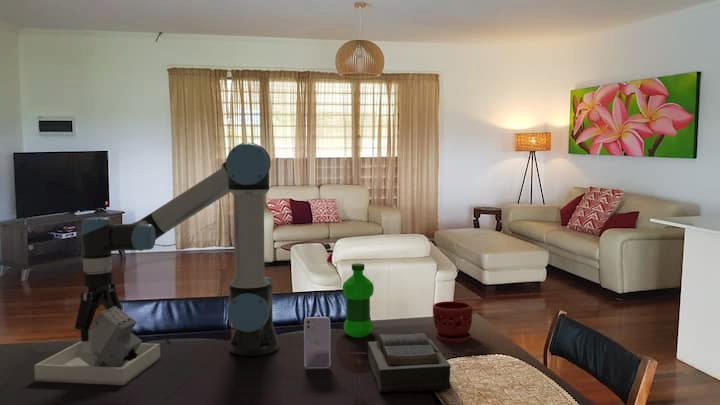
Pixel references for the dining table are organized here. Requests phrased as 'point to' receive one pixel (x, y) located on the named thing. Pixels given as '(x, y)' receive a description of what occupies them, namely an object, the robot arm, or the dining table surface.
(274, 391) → the dining table surface
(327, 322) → the mobile phone
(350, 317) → the plastic bottle
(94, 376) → the parts tray
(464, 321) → the plant pot
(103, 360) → the circuit breaker
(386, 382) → the dark grey boxy piece
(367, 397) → the dining table surface
